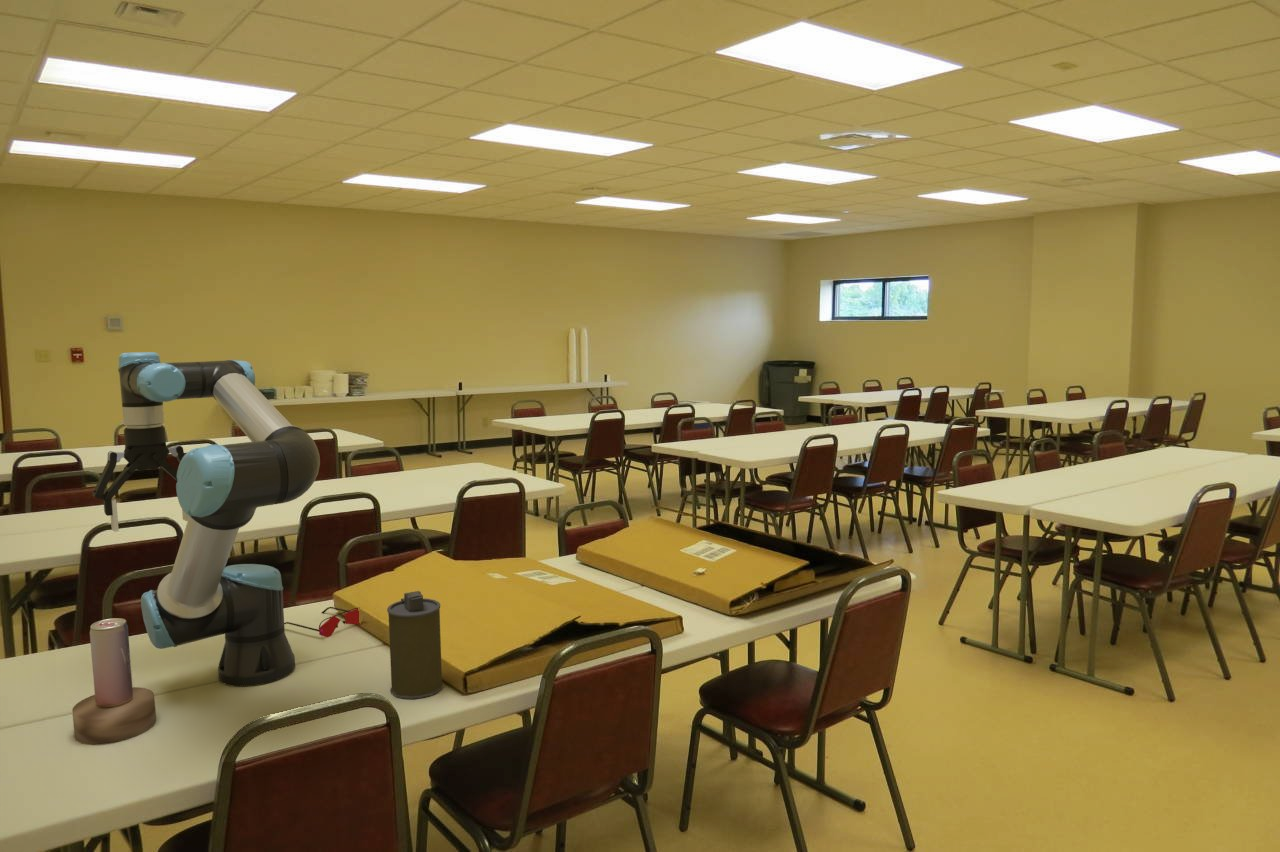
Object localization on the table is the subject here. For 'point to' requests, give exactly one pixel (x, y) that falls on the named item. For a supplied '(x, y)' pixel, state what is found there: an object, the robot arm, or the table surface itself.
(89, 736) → the walnut plinth
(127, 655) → the beverage can
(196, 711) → the table surface
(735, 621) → the table surface
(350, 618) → the glasses
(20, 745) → the table surface
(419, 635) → the canister
